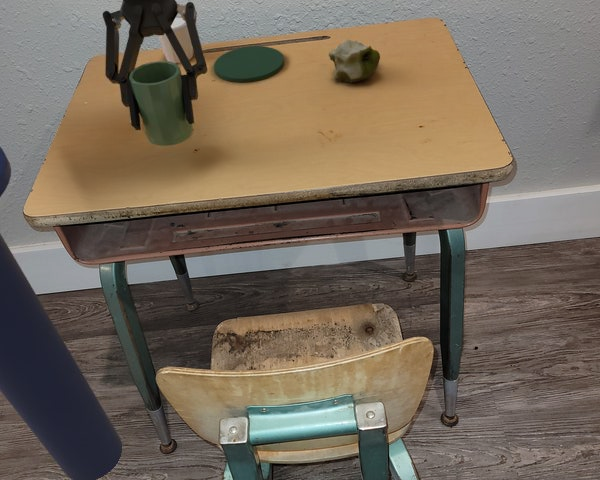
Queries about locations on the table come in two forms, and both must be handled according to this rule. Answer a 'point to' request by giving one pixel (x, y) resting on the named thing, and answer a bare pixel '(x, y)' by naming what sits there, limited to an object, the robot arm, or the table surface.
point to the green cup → (161, 102)
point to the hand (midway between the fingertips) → (163, 124)
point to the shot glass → (183, 38)
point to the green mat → (249, 64)
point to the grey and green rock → (354, 61)
